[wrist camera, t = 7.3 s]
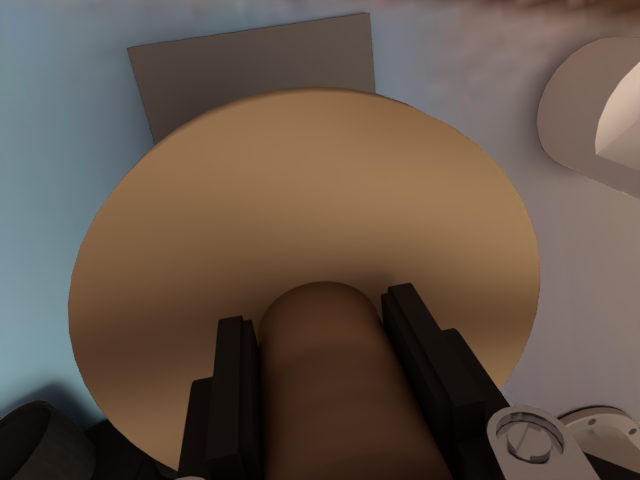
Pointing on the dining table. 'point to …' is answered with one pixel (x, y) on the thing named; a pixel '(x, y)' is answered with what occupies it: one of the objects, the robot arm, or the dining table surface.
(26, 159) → the dining table surface
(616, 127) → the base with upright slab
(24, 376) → the dining table surface
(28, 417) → the binoculars
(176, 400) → the oak lid
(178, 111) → the rubber mat
